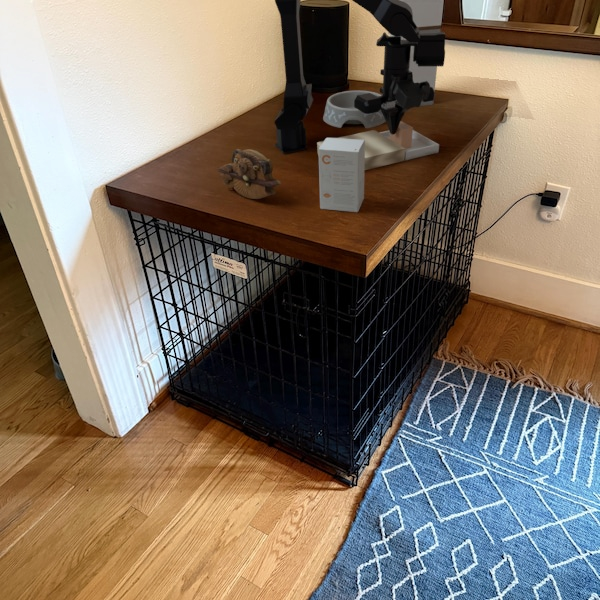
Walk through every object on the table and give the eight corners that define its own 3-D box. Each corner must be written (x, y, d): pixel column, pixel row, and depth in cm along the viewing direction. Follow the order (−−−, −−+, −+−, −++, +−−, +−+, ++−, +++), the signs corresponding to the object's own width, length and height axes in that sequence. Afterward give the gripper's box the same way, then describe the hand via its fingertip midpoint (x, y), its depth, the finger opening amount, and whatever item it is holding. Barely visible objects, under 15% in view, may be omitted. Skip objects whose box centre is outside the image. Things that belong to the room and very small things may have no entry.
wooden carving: (215, 192, 124) (208, 148, 118) (228, 184, 127) (222, 141, 121) (274, 209, 116) (271, 164, 110) (287, 200, 119) (284, 156, 113)
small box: (364, 199, 118) (365, 139, 110) (357, 213, 113) (359, 151, 105) (326, 195, 120) (326, 136, 112) (319, 209, 115) (317, 148, 108)
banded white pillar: (421, 93, 172) (432, -40, 150) (433, 104, 163) (447, -35, 142) (385, 97, 170) (391, -37, 149) (395, 108, 162) (403, -32, 141)
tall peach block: (402, 129, 133) (412, 127, 134) (390, 123, 137) (401, 121, 138) (400, 149, 136) (411, 147, 137) (389, 143, 140) (399, 140, 141)
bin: (405, 160, 133) (405, 152, 132) (374, 141, 143) (375, 133, 142) (438, 152, 136) (439, 144, 134) (406, 134, 146) (406, 126, 145)
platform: (344, 175, 128) (344, 162, 126) (317, 154, 138) (317, 142, 136) (404, 160, 133) (405, 148, 131) (373, 141, 143) (374, 129, 141)
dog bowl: (387, 129, 150) (388, 109, 146) (319, 128, 152) (319, 109, 149) (389, 108, 163) (390, 89, 160) (326, 107, 166) (326, 89, 163)
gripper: (379, 81, 117) (376, 153, 127) (452, 68, 123) (444, 137, 133) (353, 69, 126) (352, 137, 135) (423, 57, 131) (417, 122, 141)
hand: (392, 133), depth 136 cm, fingers closed
